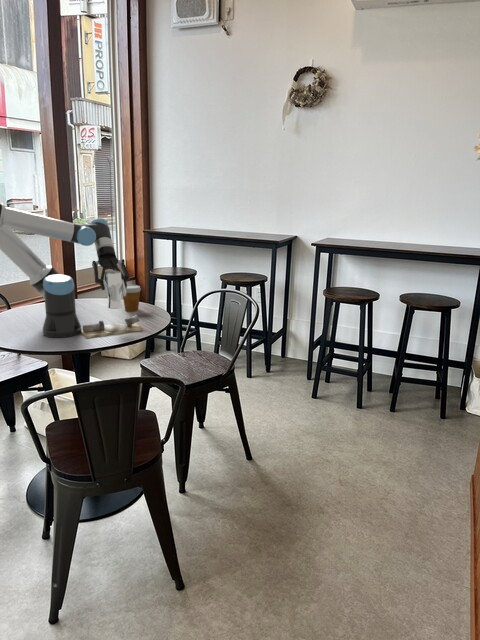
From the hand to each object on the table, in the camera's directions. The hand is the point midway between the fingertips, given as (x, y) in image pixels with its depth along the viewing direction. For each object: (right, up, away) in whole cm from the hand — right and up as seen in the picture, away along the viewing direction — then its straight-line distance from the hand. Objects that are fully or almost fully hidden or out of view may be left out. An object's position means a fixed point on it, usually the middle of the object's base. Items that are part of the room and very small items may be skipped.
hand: (116, 295), depth 198 cm
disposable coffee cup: (-3, -6, +40) cm, 41 cm away
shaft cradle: (-4, -15, +6) cm, 17 cm away
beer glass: (-2, -5, +5) cm, 7 cm away
